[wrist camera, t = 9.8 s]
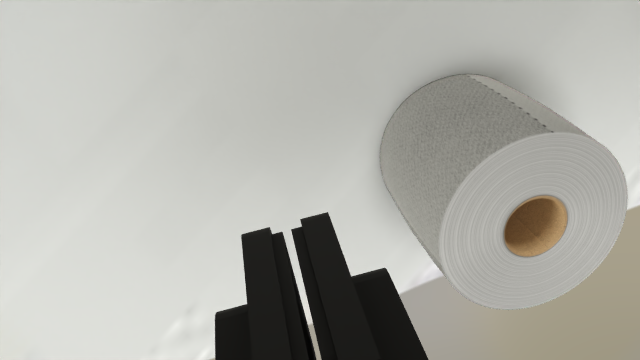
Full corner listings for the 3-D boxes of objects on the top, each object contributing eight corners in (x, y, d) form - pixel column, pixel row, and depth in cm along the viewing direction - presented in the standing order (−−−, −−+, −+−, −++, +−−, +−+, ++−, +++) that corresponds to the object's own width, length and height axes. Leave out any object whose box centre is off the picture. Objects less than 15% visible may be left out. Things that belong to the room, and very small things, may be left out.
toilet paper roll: (356, 110, 42) (411, 180, 32) (515, 45, 42) (620, 94, 32) (402, 243, 48) (461, 340, 37) (542, 185, 48) (639, 266, 38)
